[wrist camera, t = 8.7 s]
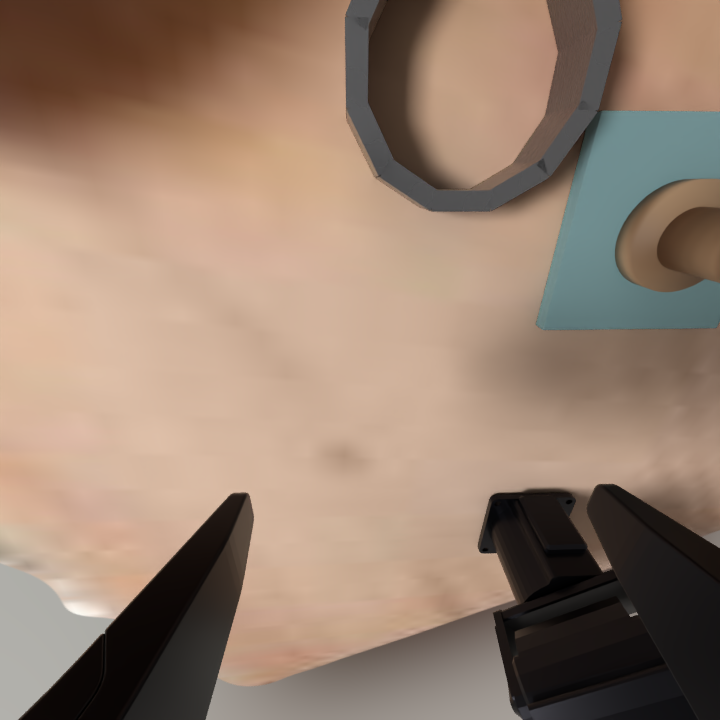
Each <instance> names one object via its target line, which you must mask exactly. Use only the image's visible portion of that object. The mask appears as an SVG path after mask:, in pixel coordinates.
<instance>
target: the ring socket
mask: <svg viewBox="0 0 720 720" xmlns="http://www.w3.org/2000/svg"><path fill="white" fill-rule="evenodd" d="M386 2H387V0H351V2H350V5H349V7H348V10H347V12H346V17H345V53H346V119H347V122H348V124H349V126H350V128H351V130H352V132H353V134H354V136H355V138H356V141H357V143H358V145H359V147H360V149H361V151H362V153H363V155H364V157H365V159H366V161H367V163H368V165H369V167H370V169H371V171H372V173H373V175H374V177H376V179H377V180H379V181H380V182H382V183H383V184H385V185H386V186H388V187H389V188H391V189H392V190H394V191H395V192H397V193H398V194H400V195H401V196H403V197H404V198H406V199H407V200H409V201H410V202H412V203H413V204H415V205H416V206H418V207H420V208H423V209H426V210H428V211H492V210H494V209H496V208H498V207H499V206H501V205H503V204H505V203H506V202H508V201H510V200H512V199H513V198H515V197H517V196H518V195H520V194H522V193H524V192H525V191H527V190H529V189H531V188H532V187H534V186H536V185H538V184H539V183H541V182H543V181H545V180H546V179H548V178H549V177H551V175H552V174H553V172H554V171H555V170H556V168H557V167H558V166H559V164H560V163H561V162H562V160H563V159H564V157H565V156H566V155H567V153H568V152H569V151H570V149H571V148H572V146H573V145H574V144H575V142H576V141H577V140H578V138H579V137H580V135H581V134H582V133H583V131H584V130H585V129H586V127H587V126H588V125H589V123H590V122H591V120H592V119H593V118H594V116H595V115H596V114H597V110H599V106H600V102H601V99H602V95H603V91H604V87H605V84H606V80H607V76H608V72H609V68H610V65H611V61H612V57H613V53H614V50H615V46H616V42H617V38H618V35H619V31H620V27H621V23H622V22H619V21H620V20H622V16H621V9H620V3H619V0H547V4H548V9H549V13H550V18H551V22H552V26H553V31H554V35H555V40H556V44H557V49H558V57H557V61H556V66H555V71H554V76H553V81H552V86H551V90H550V95H549V100H548V105H547V110H546V114H545V117H544V118H543V120H542V121H541V123H540V124H539V126H538V127H537V129H536V130H535V131H534V133H533V134H532V136H531V137H530V139H529V140H528V142H527V143H526V145H525V146H524V148H523V149H522V151H521V152H520V154H519V155H518V157H517V158H516V160H515V161H514V163H513V164H511V165H510V166H508V167H506V168H505V169H503V170H501V171H500V172H498V173H496V174H495V175H493V176H491V177H490V178H488V179H486V180H485V181H483V182H481V183H480V184H478V185H476V186H475V187H473V188H471V189H435V188H434V187H432V186H431V185H429V184H428V183H426V182H425V181H423V180H422V179H421V178H419V177H418V176H416V175H415V174H413V173H412V172H410V171H409V170H408V169H406V168H405V167H403V166H402V165H400V164H399V163H398V162H396V161H395V160H394V159H393V157H392V154H391V152H390V150H389V148H388V145H387V143H386V141H385V139H384V137H383V134H382V132H381V130H380V128H379V126H378V123H377V121H376V119H375V117H374V115H373V112H372V110H371V108H370V106H369V104H368V42H369V40H370V38H371V36H372V33H373V31H374V29H375V27H376V24H377V22H378V20H379V18H380V16H381V13H382V11H383V9H384V7H385V5H386Z"/></svg>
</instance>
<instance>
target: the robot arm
mask: <svg viewBox="0 0 720 720" xmlns="http://www.w3.org/2000/svg"><path fill="white" fill-rule="evenodd" d="M575 502H576V500H575V498H574V496H573V495H572V494H571V493H551V494H512V495H494V496H492V497H491V498H490V499H489V503H488V507H487V510H486V514H485V518H484V522H483V526H482V530H481V534H480V538H479V542H478V549H479V552H480V553H497V555H498V557H499V560H500V562H501V565H502V567H503V570H504V572H505V575H506V577H507V579H508V582H509V584H510V587H511V589H512V592H513V594H514V597H515V599H516V602H517V604H518V605H516V606H513V607H511V608H508V609H505V610H503V611H502V610H499V611H496V612H493V614H494V619H495V623H496V626H495V629H496V634H497V638H498V643H499V647H500V651H501V655H502V660H503V664H504V668H505V673H506V677H507V682H508V688H509V697H510V703H511V706H512V708H513V710H514V712H515V713H516V714H517V715H518V716H520V717H521V718H522V719H523V720H720V548H718V547H717V546H715V545H714V544H712V543H710V542H709V541H707V540H705V539H704V538H702V537H700V536H699V535H697V534H696V533H694V532H692V531H691V530H689V529H687V528H686V527H684V526H683V525H681V524H679V523H678V522H676V521H674V520H673V519H671V518H669V517H668V516H666V515H665V514H663V513H661V512H660V511H658V510H656V509H655V508H653V507H652V506H650V505H648V504H647V503H645V502H643V501H642V500H640V499H638V498H637V497H635V496H634V495H632V494H630V493H629V492H627V491H625V490H624V489H622V488H621V487H619V486H617V485H614V484H599V485H597V486H596V487H595V488H594V491H593V493H592V495H591V497H590V500H589V502H588V504H587V513H588V516H589V518H590V520H591V523H592V525H593V527H594V529H595V531H596V533H597V536H598V538H599V540H600V542H601V544H602V546H603V549H604V551H605V553H606V555H607V557H608V559H609V562H610V564H611V566H612V570H610V571H607V572H604V573H603V572H602V570H601V568H600V567H599V565H598V564H597V562H596V561H595V559H594V558H593V556H592V555H591V553H590V552H589V550H588V549H587V547H588V546H587V544H586V542H585V541H584V539H583V538H582V536H581V535H580V533H579V532H578V530H577V529H576V527H575V526H574V524H573V523H572V521H571V520H570V518H569V516H570V514H571V511H572V509H573V507H574V504H575ZM253 521H254V514H253V509H252V504H251V500H250V496H249V494H248V493H232V494H231V495H230V496H229V497H228V498H227V499H226V500H225V501H224V502H223V503H222V504H221V505H220V506H219V507H218V508H217V510H216V511H215V512H214V513H213V514H212V515H211V516H210V517H209V518H208V519H207V520H206V521H205V523H204V524H203V525H202V526H201V527H200V528H199V529H198V530H197V531H196V532H195V533H194V534H193V536H192V537H191V538H190V539H189V540H188V541H187V542H186V543H185V544H184V545H183V546H182V547H181V549H180V550H179V551H178V552H177V553H176V554H175V555H174V556H173V557H172V558H171V559H170V560H169V562H168V563H167V564H166V565H165V566H164V567H163V568H162V569H161V570H160V571H159V572H158V573H157V575H156V576H155V577H154V578H153V579H152V580H151V581H150V582H149V583H148V584H147V585H146V586H145V588H144V589H143V590H142V591H141V592H140V593H139V594H138V595H137V596H136V597H135V598H134V599H133V601H132V602H131V603H130V604H129V605H128V606H127V607H126V608H125V609H124V610H123V611H122V612H121V614H120V615H119V616H118V617H117V618H116V619H115V620H114V621H113V622H112V623H111V624H110V625H109V627H108V628H107V629H106V630H105V634H101V635H100V636H99V637H98V638H97V639H96V640H95V641H94V643H93V644H92V645H91V646H90V647H89V648H88V649H87V650H86V651H85V652H84V653H83V654H82V656H81V657H80V658H79V659H78V660H77V661H76V662H75V663H74V664H73V665H72V666H71V667H70V668H69V669H68V670H67V671H66V672H65V673H64V674H63V675H62V676H61V678H60V679H59V680H58V681H57V682H56V683H55V684H54V685H53V686H52V687H51V688H50V689H49V690H48V691H47V692H46V693H45V694H44V695H43V696H42V697H41V698H40V699H39V700H38V701H37V702H36V703H35V704H34V705H33V706H32V707H31V708H30V709H29V710H28V711H27V712H25V714H24V715H22V716H21V717H20V718H19V720H205V719H206V716H207V712H208V709H209V705H210V702H211V698H212V695H213V691H214V687H215V684H216V680H217V677H218V673H219V669H220V666H221V662H222V659H223V655H224V652H225V648H226V644H227V641H228V637H229V634H230V630H231V627H232V623H233V619H234V616H235V612H236V609H237V605H238V602H239V598H240V594H241V590H242V585H243V580H244V575H245V569H246V563H247V557H248V551H249V546H250V540H251V534H252V528H253ZM635 612H637V613H638V616H637V615H636V616H633V617H630V616H629V614H632V613H635Z"/></svg>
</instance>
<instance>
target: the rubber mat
mask: <svg viewBox="0 0 720 720" xmlns="http://www.w3.org/2000/svg"><path fill="white" fill-rule="evenodd" d="M682 179H720V112H694V111H599V112H597V114H596V115H595V116H594V118H593V119H592V120H591V122H590V123H589V125H588V126H587V128H586V131H585V135H584V139H583V143H582V147H581V151H580V155H579V159H578V163H577V166H576V170H575V174H574V178H573V182H572V186H571V190H570V194H569V198H568V202H567V205H566V209H565V213H564V217H563V221H562V225H561V229H560V233H559V237H558V240H557V244H556V248H555V252H554V256H553V260H552V264H551V268H550V272H549V275H548V279H547V283H546V287H545V291H544V295H543V299H542V303H541V307H540V311H539V314H538V318H537V322H536V325H537V326H538V327H540V328H541V329H542V330H593V329H685V328H717V326H718V324H719V322H720V283H718V282H714V281H711V280H707V279H704V280H703V281H701V282H699V283H697V284H696V285H694V286H691V287H689V288H686V289H683V290H680V291H675V292H658V291H653V290H651V289H648V288H645V287H642V286H639V285H637V284H634V283H631V282H630V281H628V280H626V279H625V278H624V277H623V276H622V275H621V273H620V272H619V270H618V268H617V265H616V261H615V246H616V241H617V237H618V235H619V232H620V229H621V227H622V226H623V224H624V222H625V220H626V219H627V217H628V215H629V214H630V213H631V212H632V210H633V209H634V208H635V207H636V206H637V205H638V204H639V203H640V202H641V201H642V200H643V199H644V198H645V197H646V196H648V195H649V194H650V193H652V192H653V191H655V190H656V189H658V188H660V187H662V186H664V185H666V184H668V183H671V182H674V181H678V180H682Z"/></svg>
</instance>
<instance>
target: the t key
mask: <svg viewBox="0 0 720 720" xmlns="http://www.w3.org/2000/svg"><path fill="white" fill-rule="evenodd" d="M615 261H616V265H617V268H618V270H619V272H620V273H621V275H622V276H623V277H624V278H625V279H626V280H628V281H630V282H631V283H634V284H637V285H639V286H642V287H645V288H648V289H651V290H653V291H658V292H675V291H680V290H683V289H686V288H689V287H691V286H694V285H696V284H697V283H699V282H701V281H703V280H704V279H707V280H711V281H714V282H718V283H720V179H682V180H678V181H674V182H671V183H668V184H666V185H664V186H662V187H660V188H658V189H656V190H655V191H653V192H652V193H650V194H649V195H648V196H646V197H645V198H644V199H643V200H642V201H641V202H640V203H639V204H638V205H637V206H636V207H635V208H634V209H633V210H632V212H631V213H630V214H629V215H628V217H627V219H626V220H625V222H624V224H623V226H622V227H621V229H620V232H619V235H618V237H617V241H616V246H615Z"/></svg>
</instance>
